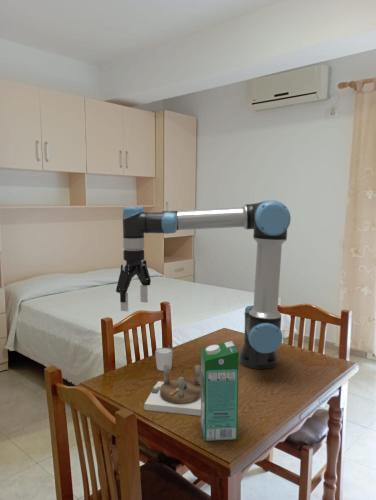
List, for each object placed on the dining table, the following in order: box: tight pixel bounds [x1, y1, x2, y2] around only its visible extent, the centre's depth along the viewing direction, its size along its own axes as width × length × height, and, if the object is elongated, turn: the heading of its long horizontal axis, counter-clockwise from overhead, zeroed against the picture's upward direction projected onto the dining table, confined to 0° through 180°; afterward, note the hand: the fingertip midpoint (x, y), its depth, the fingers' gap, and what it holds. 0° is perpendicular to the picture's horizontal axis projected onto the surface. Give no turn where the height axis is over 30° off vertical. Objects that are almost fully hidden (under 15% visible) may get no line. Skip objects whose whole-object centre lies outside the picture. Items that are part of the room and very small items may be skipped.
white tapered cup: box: [154, 347, 174, 372], centre depth 156 cm, size 7×7×7 cm
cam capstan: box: [160, 364, 201, 403], centre depth 130 cm, size 14×14×8 cm
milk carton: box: [200, 340, 240, 442], centre depth 112 cm, size 9×9×25 cm
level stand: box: [143, 380, 201, 417], centre depth 130 cm, size 20×16×4 cm
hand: (134, 306), depth 148 cm, fingers open, 13 cm apart
